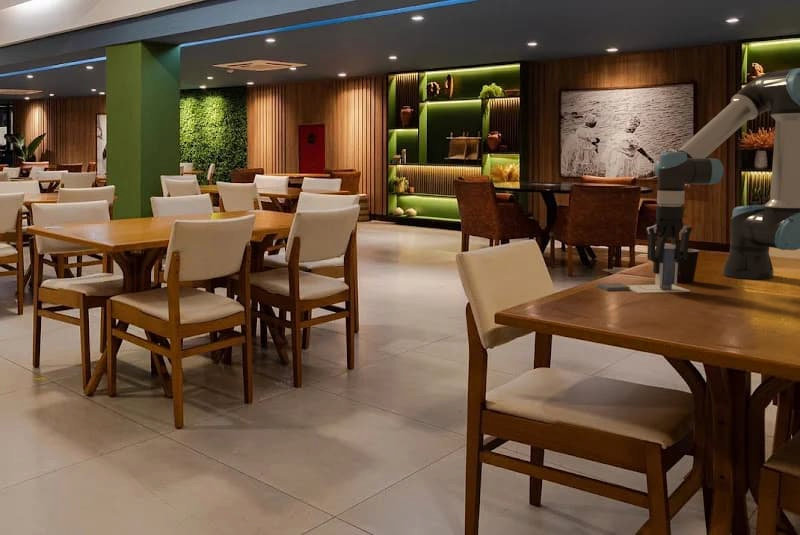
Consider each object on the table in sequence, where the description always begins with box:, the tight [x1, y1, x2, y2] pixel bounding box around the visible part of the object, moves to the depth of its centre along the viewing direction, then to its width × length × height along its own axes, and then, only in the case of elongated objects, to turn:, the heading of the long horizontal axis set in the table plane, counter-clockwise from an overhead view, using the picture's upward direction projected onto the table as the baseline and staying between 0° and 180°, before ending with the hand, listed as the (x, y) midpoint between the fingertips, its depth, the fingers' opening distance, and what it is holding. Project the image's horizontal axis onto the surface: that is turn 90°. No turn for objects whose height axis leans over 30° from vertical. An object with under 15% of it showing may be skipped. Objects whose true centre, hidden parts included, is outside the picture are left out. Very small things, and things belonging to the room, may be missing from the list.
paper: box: [627, 284, 691, 294], centre depth 226 cm, size 16×11×1 cm
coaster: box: [597, 282, 631, 292], centre depth 227 cm, size 7×7×1 cm
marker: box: [660, 243, 676, 289], centre depth 224 cm, size 4×4×13 cm
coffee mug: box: [677, 248, 700, 284], centre depth 240 cm, size 12×9×10 cm
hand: (665, 284), depth 224 cm, fingers closed on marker, 4 cm apart
